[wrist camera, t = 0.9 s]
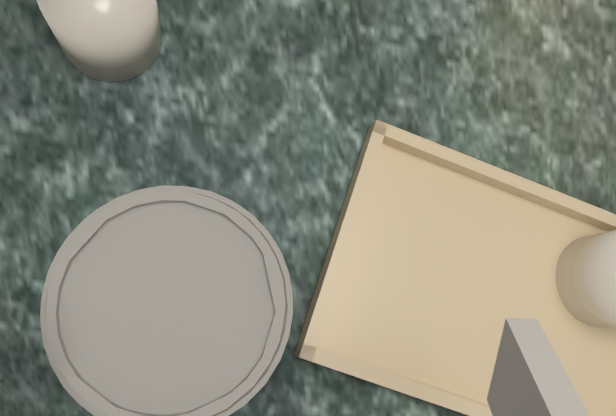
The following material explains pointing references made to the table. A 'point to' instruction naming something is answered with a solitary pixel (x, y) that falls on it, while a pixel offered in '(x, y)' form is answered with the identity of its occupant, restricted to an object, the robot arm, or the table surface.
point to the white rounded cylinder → (589, 279)
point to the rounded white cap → (106, 35)
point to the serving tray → (449, 276)
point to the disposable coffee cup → (166, 306)
